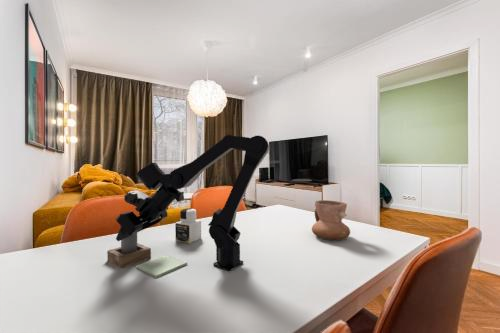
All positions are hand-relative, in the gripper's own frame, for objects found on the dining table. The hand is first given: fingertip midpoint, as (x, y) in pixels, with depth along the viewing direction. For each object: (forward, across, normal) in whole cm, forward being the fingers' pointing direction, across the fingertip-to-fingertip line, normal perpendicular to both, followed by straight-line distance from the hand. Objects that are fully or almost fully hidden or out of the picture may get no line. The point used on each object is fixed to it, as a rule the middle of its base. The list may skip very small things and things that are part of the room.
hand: (127, 235), depth 73 cm
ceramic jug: (-42, -30, +52) cm, 74 cm away
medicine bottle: (-3, -20, +13) cm, 24 cm away
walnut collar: (+5, 0, +6) cm, 8 cm away
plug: (+5, 0, +6) cm, 8 cm away
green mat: (-4, +4, +15) cm, 16 cm away
